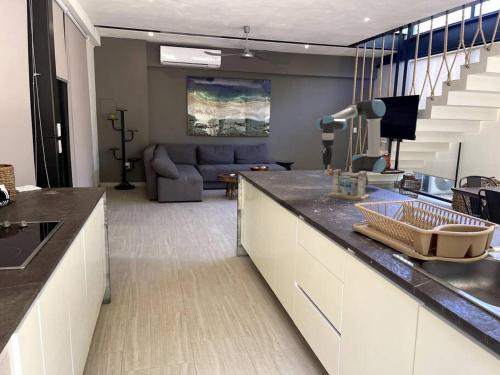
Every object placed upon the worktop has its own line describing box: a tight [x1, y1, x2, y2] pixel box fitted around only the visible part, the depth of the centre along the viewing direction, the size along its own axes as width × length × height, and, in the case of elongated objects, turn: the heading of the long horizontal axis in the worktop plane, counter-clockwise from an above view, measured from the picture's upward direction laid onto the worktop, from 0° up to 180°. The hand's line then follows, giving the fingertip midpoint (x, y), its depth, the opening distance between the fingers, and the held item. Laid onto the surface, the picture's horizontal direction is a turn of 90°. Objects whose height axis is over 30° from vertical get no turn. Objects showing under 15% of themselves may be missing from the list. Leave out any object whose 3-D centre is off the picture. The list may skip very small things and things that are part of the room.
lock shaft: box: [326, 168, 359, 178], centre depth 248 cm, size 5×24×5 cm, turn 55°
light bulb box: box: [339, 177, 358, 196], centre depth 249 cm, size 11×7×11 cm, turn 105°
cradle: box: [326, 168, 371, 202], centre depth 248 cm, size 14×24×18 cm, turn 55°
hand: (326, 174), depth 256 cm, fingers closed
